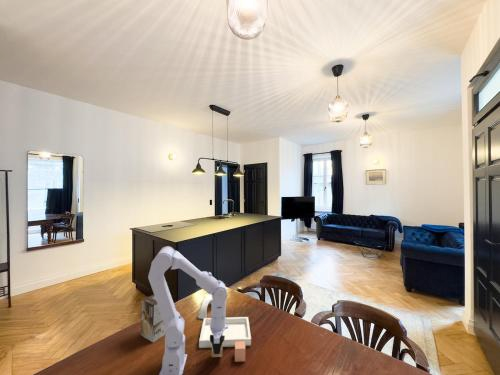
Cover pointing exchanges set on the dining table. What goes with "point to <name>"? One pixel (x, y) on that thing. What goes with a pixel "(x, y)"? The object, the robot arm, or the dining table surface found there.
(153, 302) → the coffee box
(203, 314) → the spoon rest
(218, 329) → the robot arm
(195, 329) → the dining table surface
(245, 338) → the tray
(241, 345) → the terracotta block
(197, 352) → the dining table surface
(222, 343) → the maple block
